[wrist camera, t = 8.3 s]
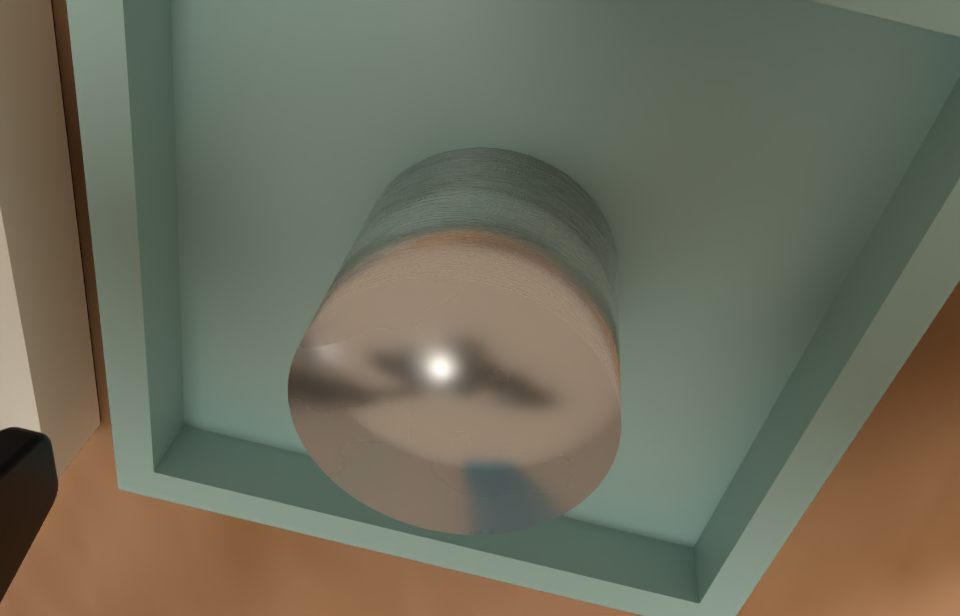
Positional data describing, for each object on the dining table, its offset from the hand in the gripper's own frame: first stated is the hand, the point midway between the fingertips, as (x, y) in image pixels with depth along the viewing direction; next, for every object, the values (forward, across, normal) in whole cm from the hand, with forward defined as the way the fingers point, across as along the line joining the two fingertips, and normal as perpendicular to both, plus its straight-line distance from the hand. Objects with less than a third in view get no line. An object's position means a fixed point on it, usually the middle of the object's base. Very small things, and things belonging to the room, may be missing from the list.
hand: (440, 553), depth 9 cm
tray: (+7, 0, 0) cm, 7 cm away
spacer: (+6, 0, 0) cm, 6 cm away
